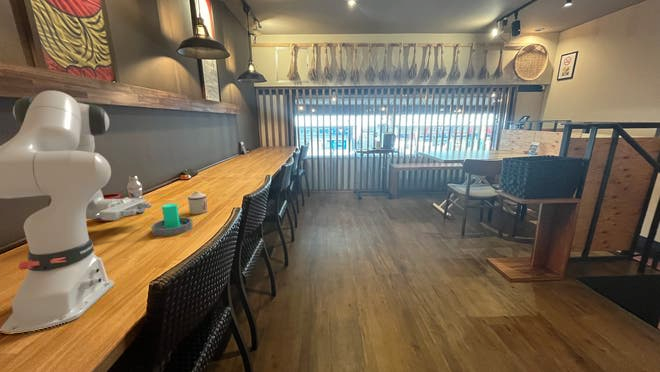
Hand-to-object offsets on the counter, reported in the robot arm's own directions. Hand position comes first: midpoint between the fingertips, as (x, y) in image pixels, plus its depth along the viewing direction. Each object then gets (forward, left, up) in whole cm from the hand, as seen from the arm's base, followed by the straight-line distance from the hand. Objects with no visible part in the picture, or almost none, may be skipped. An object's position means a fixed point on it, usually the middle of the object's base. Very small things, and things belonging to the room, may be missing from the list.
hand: (143, 209), depth 115 cm
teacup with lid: (+21, -19, -10) cm, 30 cm away
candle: (-4, -11, -9) cm, 15 cm away
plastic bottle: (+29, +11, -10) cm, 32 cm away
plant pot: (+23, +22, -10) cm, 33 cm away
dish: (-4, -11, -10) cm, 15 cm away
